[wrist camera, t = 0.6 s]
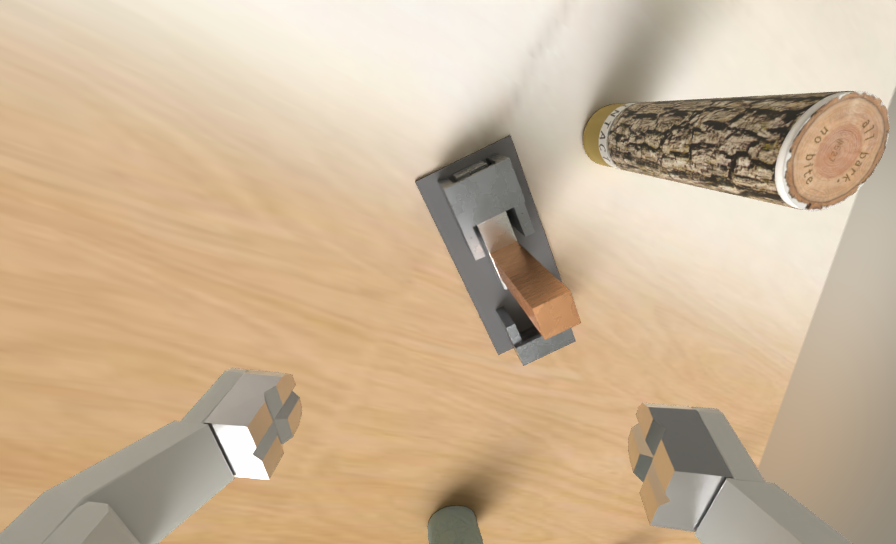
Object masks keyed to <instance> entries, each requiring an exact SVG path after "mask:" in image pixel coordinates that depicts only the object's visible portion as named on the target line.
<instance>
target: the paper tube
mask: <svg viewBox="0 0 896 544" xmlns="http://www.w3.org/2000/svg"><path fill="white" fill-rule="evenodd" d="M888 135H889V116H888V112H887V109H886V107H885V105H884V103H883V102H882V101H881V100H880V99H879V98H878V97H877V96H875V95H873V94H871V93H868V92H864V91H855V92H854V91H841V92H823V93H805V94H786V95H768V96H750V97H731V98H713V99H695V100H676V101H658V102H640V103H626V104H611V105H608V106H605V107H603V108H601V109H599V110H598V111H597V112H596V113H594V115H593V116H592V117H591V118H590V120H589V121H588V123H587V125H586V127H585V130H584V135H583V145H584V149H585V152H586V154H587V155H588V157H589V158H590V159H591V160H592V161H594V162H595V163H597V164H600V165H605V166H609V167H614V168H617V169H621V170H626V171H630V172H635V173H639V174H644V175H648V176H653V177H657V178H662V179H666V180H671V181H675V182H680V183H684V184H689V185H693V186H698V187H702V188H707V189H711V190H716V191H720V192H725V193H729V194H733V195H738V196H742V197H747V198H751V199H756V200H760V201H765V202H769V203H774V204H778V205H783V206H787V207H792V208H796V209H802V210H808V211H819V210H824V209H828V208H831V207H833V206H835V205H838V204H839V203H841V202H843V201H844V200H846V199H847V198H849V197H850V196H851V195H853V194H854V193H855V192H856V191H857V190H858V189H859V188H860V187H861V186H862V185H863V184H864V183H865V182H866V181H867V180H868V178H869V177H870V176H871V174H872V173H873V171H874V170H875V168H876V167H877V165H878V163H879V161H880V159H881V158H882V155H883V153H884V150H885V147H886V144H887V140H888Z"/></svg>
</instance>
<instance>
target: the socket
mask: <svg viewBox="0 0 896 544" xmlns="http://www.w3.org/2000/svg"><path fill="white" fill-rule="evenodd" d="M496 312H497V314H498V316H499V318H500V321H501V323H502V325H503V327H504V329H505V332H506V334H507V336H508V338H509V340H510V343H511V345H512V346H513V348H514V350H515V352H516V354H517V355H518V357H519V359H520V361H521V362H522V364H523V366H524V365H526V364H528V363H530V362H533V361H535V360H537V359H539V358H541V357H543V356H545V355H547V354H550V353H552V352H554V351H556V350H558V349H560V348H562V347H564V346H567V345H569V344H571V343H573V342H575V338H574V335H573V332H572V329H571V328H569V329H567V330H565V331H563V332H561V333H559V334H557V335H555V336H552V337H550V338H548V339H546V340H545V339H544V338H543V337H542V335H541V334H540V332H539V331H538V330H537V328H536V327H535V325H534V326H532V327H530V328H528V329H525V330H523V331H521V332H518V330H517V328H516V325H515V323H514V322H513V320H512V318H511V317H510V315H509V314H508V312H507V311H506V309H505V307H504V306H503V307H501V308H499V309H497V310H496Z"/></svg>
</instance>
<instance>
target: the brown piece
mask: <svg viewBox="0 0 896 544" xmlns="http://www.w3.org/2000/svg"><path fill="white" fill-rule="evenodd" d="M486 167H488V164H487V163H485V162H483V161H479V162H477V163H475V164H473V165H471V166H469V167H467V168H465V169H463V170H461V171H459V172H456V173H454V174H453V177H454V179H455V181H456V182H458V181H460V180H462V179H464V178H466V177H468V176H470V175H472V174H474V173H476V172H478V171H480V170H482V169H484V168H486ZM475 228H476V230H477V232H478V234H479V237H480V239H481V241H482V244H483V246H484V248H485V251H486V253H487V255H488V258H489V260H490V262H491V264H492V267H493V269H494V271H495V274H496V276H497V278H498V281H499V282H500V284H501V285H502V286H503V288H504V289H509V291H510V292H511V294H512V295H513V296H514V298H515V299H516V301H517V302H518V303H519V305H520V306H521V307H522V309H523V310H524V312H525V313H526V314H527V316H528V317H529V319H530V320H531V321H532V323H533V324H534V325H535V327H536V328H537V330H538V331H539V332H540V334H541V335H542V337H543V338H544V339H545V340H546V339H548V338H550V337H552V336H555V335H557V334H559V333H561V332H563V331H565V330H567V329H569V328H571V327H574V326H576V325H578V324H580V323H581V321H580V318H579V315H578V312H577V309H576V306H575V303H574V301H573V298H572V295H571V292H570V290H569V289H568V288H566V287H565V286H564V285H563V284H562V283H561V282H560V281H559V280H558V279H557V278H556V277H555V276H554V275H553V274H552V273H550V272H549V271H548V270H547V269H546V268H545V267H544V266H543V265H542V264H541V263H540V262H539V261H538V260H537V259H535V258H534V257H533V256H532V255H531V254H530V253H529V252H528V251H527V250H526V249H525V248H524V247H523V246H522V245H521V244H519V243H518V242H517V239H516V237H515V234H514V231H513V229H512V226H511V224H510V221H509V219H508V216H507V213H506V211H505V212H503V213H501V214H499V215H497V216H495V217H493V218H491V219H489V220H486V221H484V222H482V223H480V224H478V225H476V226H475Z"/></svg>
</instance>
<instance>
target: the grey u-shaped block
mask: <svg viewBox="0 0 896 544" xmlns="http://www.w3.org/2000/svg"><path fill="white" fill-rule="evenodd" d="M486 159H487V162H488V164H489V166H488V167H486V168H484V169H482V170H480V171H478V172H476V173H474V174H472V175H470V176H468V177H466V178H464V179H462V180H460V181H458V182H456V183H453V182H452V181H451V180H449V179H448V178H447V177H445V178H443V179H441V180H439V181H437V182H438V184H439V186H440V189H441V191H442V193H443V195H444V197H445V200H446V202H447V204H448V206H449V208H450V211H451V213H452V215H453V217H454V219H455V222H456V224H457V226H458V228H459V230H460V233H461V235H462V237H463V239H464V241H465V244H466V246H467V248H468V249H469V251H470V253H471V254H472V256H473V257H474V259H475V260H479V259H481V258H483V257H485V254H484V252H483V250H482V247H481V245H480V243H479V240H478V238H477V236H476V234H475V231H474V229H473V227H474V226H476V225H478V224H480V223H482V222H484V221H486V220H489V219H491V218H493V217H495V216H497V215H499V214H501V213H503V212H505V211H507V214H508V216H509V219H510V221H511V224H512V226H513V227H514V228H515V229H517V230H518V231H519V232H520V233H521V234H523V235H524V236H525V237H526V236H529V235H531V234H533V233H535V231H534V228H533V225H532V222H531V220H530V217H529V214H528V211H527V209H526V206H525V203H524V202H525V199H524V196H523V193H522V191H521V188H520V185H519V182H518V180H517V177H516V174H515V171H514V169H513V166H512V163H511V160H510V158H509V157H506V156H503V155H500V154H497V153H494V154H492V155H490V156H488V157H486Z"/></svg>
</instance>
